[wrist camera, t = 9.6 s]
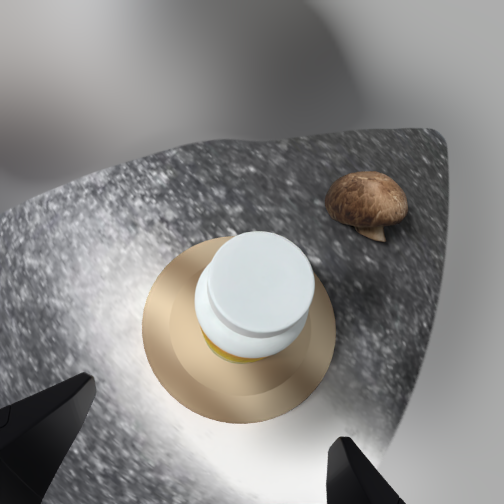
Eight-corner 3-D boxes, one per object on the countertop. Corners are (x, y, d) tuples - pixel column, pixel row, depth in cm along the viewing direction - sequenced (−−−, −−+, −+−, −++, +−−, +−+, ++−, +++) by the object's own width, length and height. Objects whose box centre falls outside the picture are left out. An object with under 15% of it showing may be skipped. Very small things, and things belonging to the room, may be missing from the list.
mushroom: (417, 257, 21) (424, 188, 17) (329, 263, 23) (324, 193, 20) (395, 217, 27) (395, 162, 24) (325, 222, 29) (320, 166, 26)
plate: (264, 455, 15) (267, 459, 14) (109, 339, 18) (104, 336, 17) (358, 306, 21) (364, 302, 20) (222, 213, 24) (222, 205, 23)
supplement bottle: (221, 277, 20) (228, 195, 11) (289, 307, 20) (346, 247, 11) (187, 344, 17) (161, 309, 9) (260, 377, 17) (306, 374, 9)
